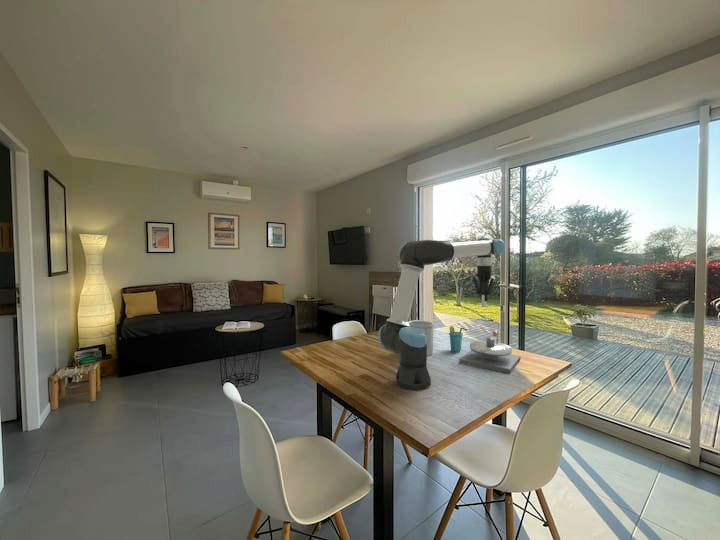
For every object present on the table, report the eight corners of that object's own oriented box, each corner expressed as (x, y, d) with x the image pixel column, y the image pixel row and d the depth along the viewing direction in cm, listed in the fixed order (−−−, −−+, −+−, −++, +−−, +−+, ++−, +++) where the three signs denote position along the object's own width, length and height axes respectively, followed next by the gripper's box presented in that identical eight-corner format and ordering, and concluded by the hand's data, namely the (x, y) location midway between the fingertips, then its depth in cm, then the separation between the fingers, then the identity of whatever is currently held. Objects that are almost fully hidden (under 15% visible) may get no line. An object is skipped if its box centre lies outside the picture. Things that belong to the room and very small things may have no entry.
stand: (459, 362, 157) (459, 352, 156) (474, 351, 175) (474, 341, 175) (510, 373, 142) (510, 361, 142) (520, 359, 161) (520, 349, 160)
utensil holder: (418, 347, 185) (417, 318, 184) (439, 352, 174) (439, 322, 173) (402, 352, 175) (402, 322, 174) (423, 358, 164) (423, 326, 163)
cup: (471, 353, 172) (471, 327, 171) (461, 355, 168) (461, 329, 167) (452, 347, 184) (452, 323, 183) (443, 349, 180) (443, 324, 179)
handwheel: (505, 358, 144) (505, 342, 144) (464, 351, 157) (464, 335, 157) (516, 348, 160) (516, 333, 159) (477, 342, 172) (477, 328, 172)
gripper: (498, 265, 168) (498, 307, 169) (477, 265, 179) (477, 304, 180) (491, 265, 164) (491, 308, 165) (470, 265, 174) (470, 306, 175)
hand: (484, 306), depth 172 cm, fingers closed
